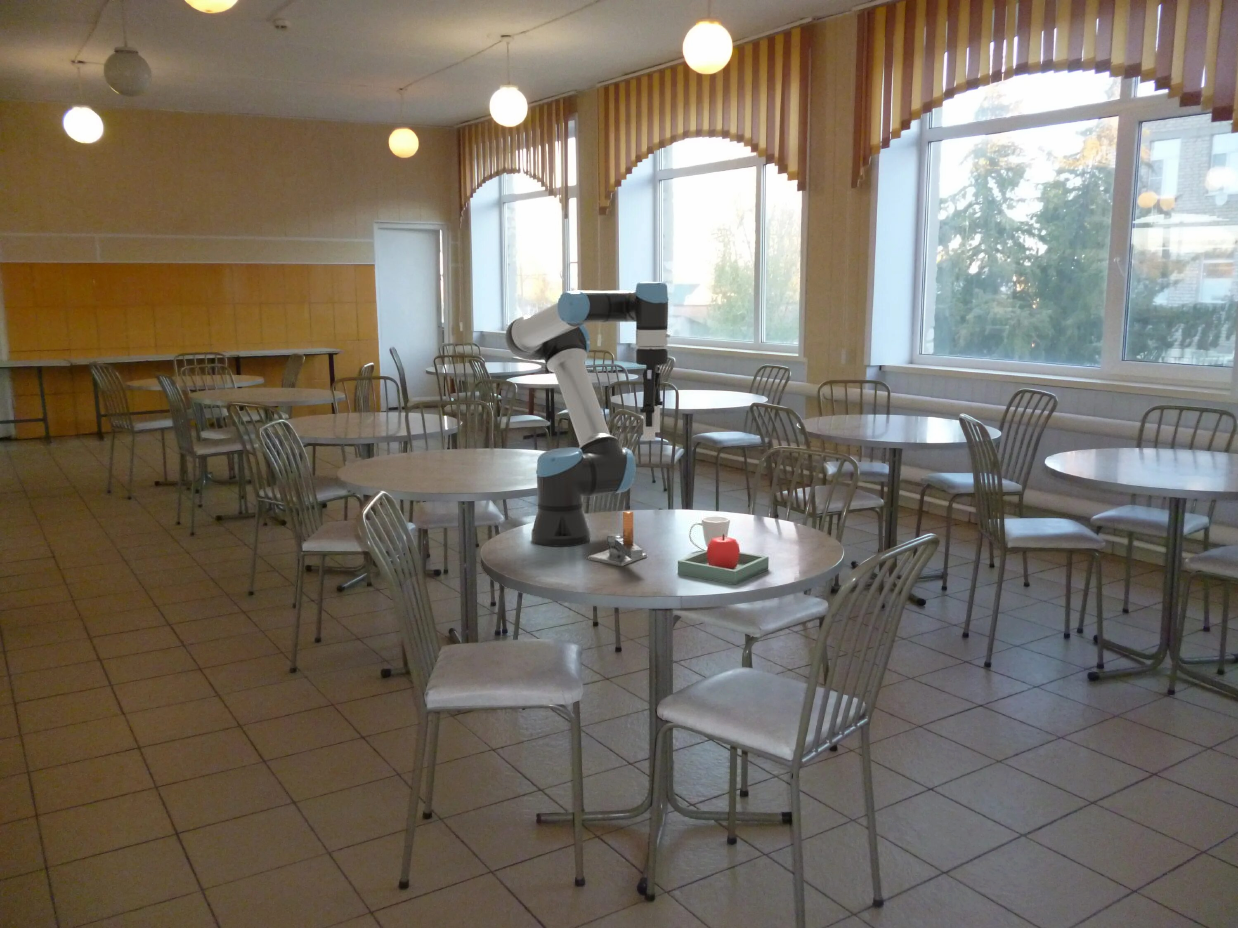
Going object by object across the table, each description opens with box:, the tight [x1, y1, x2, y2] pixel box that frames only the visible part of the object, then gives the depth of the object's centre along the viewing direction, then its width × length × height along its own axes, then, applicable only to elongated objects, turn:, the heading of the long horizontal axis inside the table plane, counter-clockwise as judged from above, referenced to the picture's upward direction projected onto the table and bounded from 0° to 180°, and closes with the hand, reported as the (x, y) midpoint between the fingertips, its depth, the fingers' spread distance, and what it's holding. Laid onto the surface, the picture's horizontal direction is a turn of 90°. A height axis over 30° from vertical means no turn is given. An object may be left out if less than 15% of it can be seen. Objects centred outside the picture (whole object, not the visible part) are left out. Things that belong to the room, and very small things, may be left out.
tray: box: [677, 550, 770, 586], centre depth 229 cm, size 15×15×3 cm
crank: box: [606, 510, 644, 559], centre depth 234 cm, size 16×5×10 cm, turn 18°
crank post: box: [587, 546, 648, 567], centre depth 241 cm, size 10×10×3 cm
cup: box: [688, 515, 731, 551], centre depth 247 cm, size 7×10×8 cm
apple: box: [706, 534, 741, 569], centre depth 228 cm, size 8×8×8 cm
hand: (651, 436), depth 242 cm, fingers open, 13 cm apart
